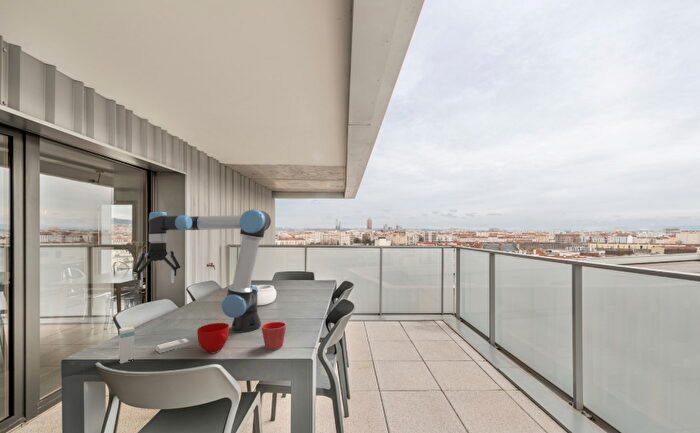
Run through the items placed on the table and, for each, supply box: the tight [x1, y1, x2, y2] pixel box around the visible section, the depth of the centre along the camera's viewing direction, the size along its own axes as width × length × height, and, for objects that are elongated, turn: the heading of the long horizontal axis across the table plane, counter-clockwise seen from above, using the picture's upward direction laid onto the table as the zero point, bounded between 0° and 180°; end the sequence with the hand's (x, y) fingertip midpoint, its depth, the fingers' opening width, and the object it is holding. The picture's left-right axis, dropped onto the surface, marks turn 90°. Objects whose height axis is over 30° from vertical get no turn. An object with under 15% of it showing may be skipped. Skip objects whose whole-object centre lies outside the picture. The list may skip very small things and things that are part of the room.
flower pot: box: [261, 321, 287, 351], centre depth 136 cm, size 11×11×10 cm
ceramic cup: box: [196, 322, 230, 354], centre depth 132 cm, size 13×17×10 cm
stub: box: [118, 325, 136, 364], centre depth 124 cm, size 5×5×13 cm
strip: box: [155, 338, 190, 354], centre depth 136 cm, size 12×6×2 cm, turn 135°
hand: (157, 284), depth 149 cm, fingers open, 13 cm apart
